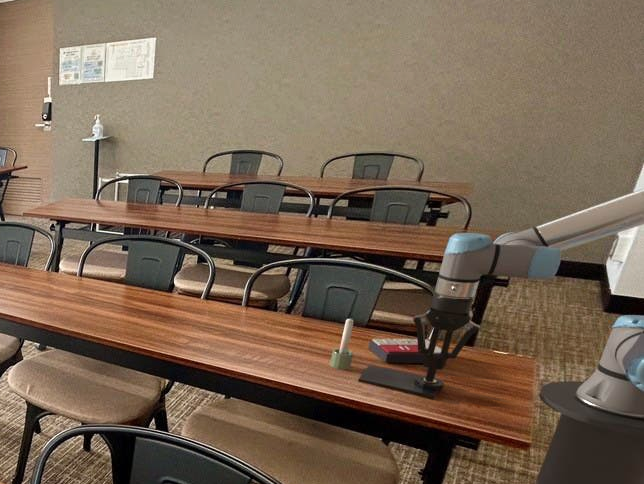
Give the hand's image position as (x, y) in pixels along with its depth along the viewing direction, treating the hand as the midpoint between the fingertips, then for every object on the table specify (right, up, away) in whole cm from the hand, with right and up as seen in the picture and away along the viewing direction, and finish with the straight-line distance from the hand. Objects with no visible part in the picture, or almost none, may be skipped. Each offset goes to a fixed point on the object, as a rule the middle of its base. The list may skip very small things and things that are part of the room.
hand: (429, 379), depth 153 cm
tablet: (-4, -1, +5) cm, 7 cm away
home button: (0, -2, 0) cm, 2 cm away
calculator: (+10, +5, +20) cm, 23 cm away
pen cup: (-12, +2, +16) cm, 20 cm away
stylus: (-12, +3, +16) cm, 20 cm away
